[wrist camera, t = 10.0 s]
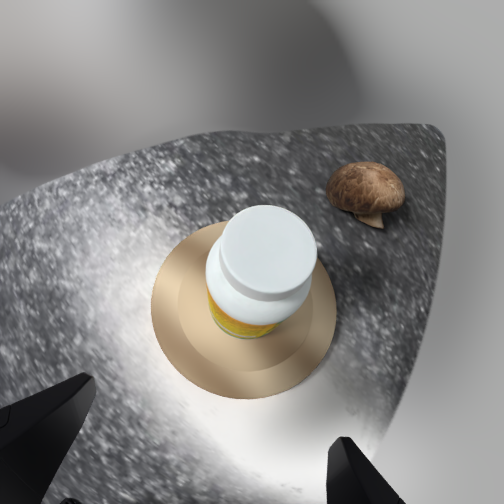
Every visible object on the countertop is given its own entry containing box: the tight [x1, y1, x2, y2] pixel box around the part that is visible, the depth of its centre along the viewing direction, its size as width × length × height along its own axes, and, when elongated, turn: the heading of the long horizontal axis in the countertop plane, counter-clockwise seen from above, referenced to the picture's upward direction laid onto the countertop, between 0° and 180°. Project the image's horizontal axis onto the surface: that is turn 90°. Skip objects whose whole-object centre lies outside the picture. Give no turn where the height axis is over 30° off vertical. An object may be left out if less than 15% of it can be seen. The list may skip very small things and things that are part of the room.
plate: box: [151, 221, 337, 399], centre depth 20 cm, size 14×14×1 cm
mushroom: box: [326, 162, 405, 229], centre depth 24 cm, size 8×8×6 cm
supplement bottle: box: [205, 205, 317, 340], centre depth 15 cm, size 5×5×10 cm
